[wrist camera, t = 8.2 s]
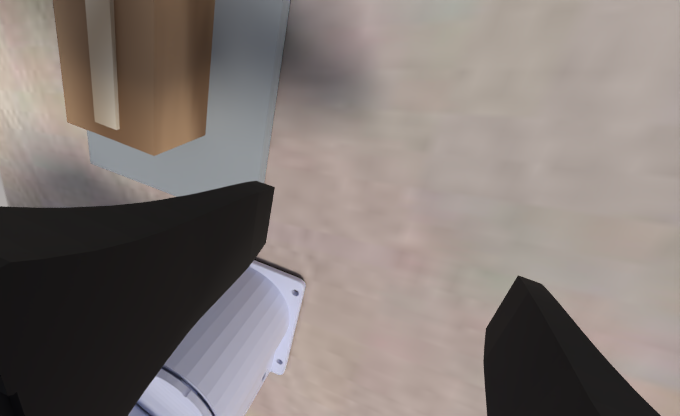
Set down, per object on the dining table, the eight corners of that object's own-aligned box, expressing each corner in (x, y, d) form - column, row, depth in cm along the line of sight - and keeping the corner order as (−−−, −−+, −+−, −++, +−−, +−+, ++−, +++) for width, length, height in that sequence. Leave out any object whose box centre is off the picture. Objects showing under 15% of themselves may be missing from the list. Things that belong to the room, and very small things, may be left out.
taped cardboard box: (219, -53, 17) (150, -77, 13) (205, 135, 21) (151, 157, 17) (125, -80, 17) (34, -109, 14) (130, 107, 22) (63, 123, 18)
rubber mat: (259, 219, 23) (252, 225, 23) (100, 159, 25) (90, 163, 25) (313, -159, 15) (305, -168, 14) (65, -208, 17) (48, -218, 16)
